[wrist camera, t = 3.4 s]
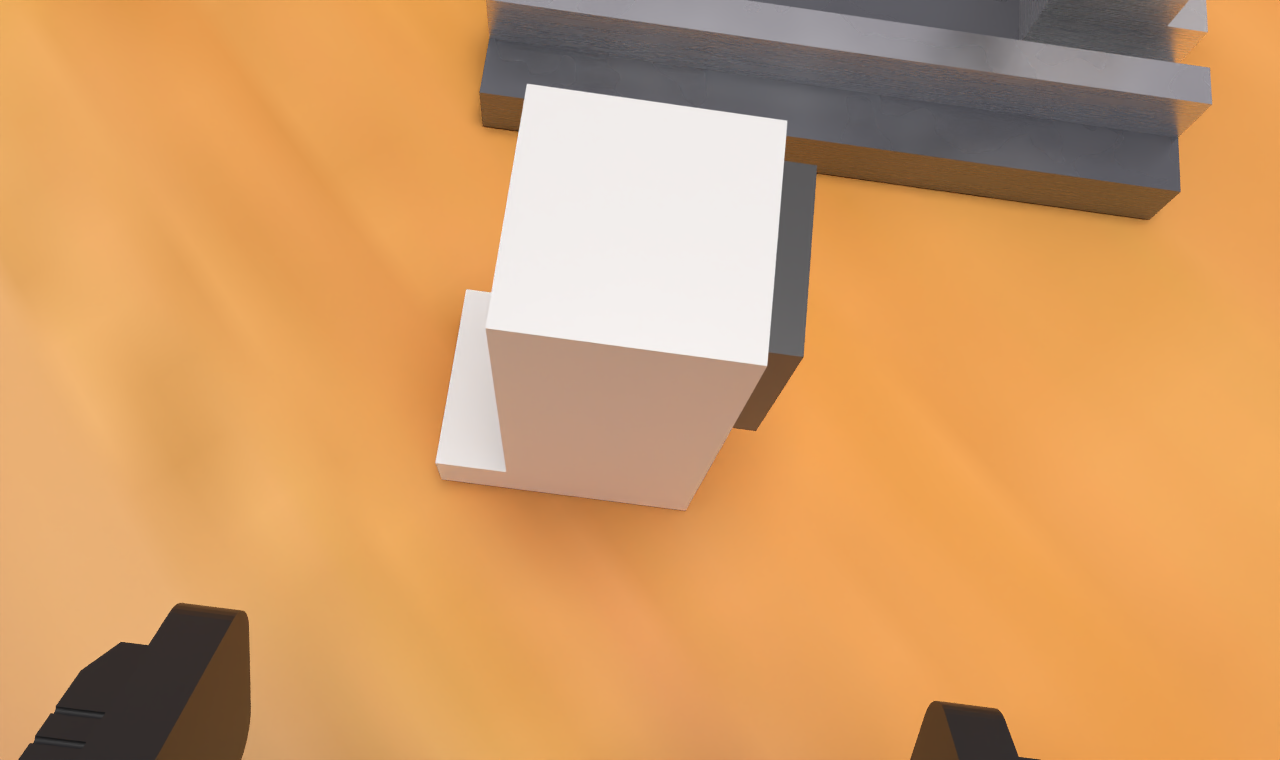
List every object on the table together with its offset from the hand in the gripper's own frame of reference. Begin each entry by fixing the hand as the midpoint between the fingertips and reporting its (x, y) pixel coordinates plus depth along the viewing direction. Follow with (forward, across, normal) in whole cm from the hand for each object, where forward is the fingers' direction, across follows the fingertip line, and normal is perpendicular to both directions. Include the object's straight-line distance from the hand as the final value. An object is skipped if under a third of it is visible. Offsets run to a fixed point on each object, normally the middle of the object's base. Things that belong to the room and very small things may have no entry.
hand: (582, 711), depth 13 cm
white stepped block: (+13, 0, +3) cm, 13 cm away
